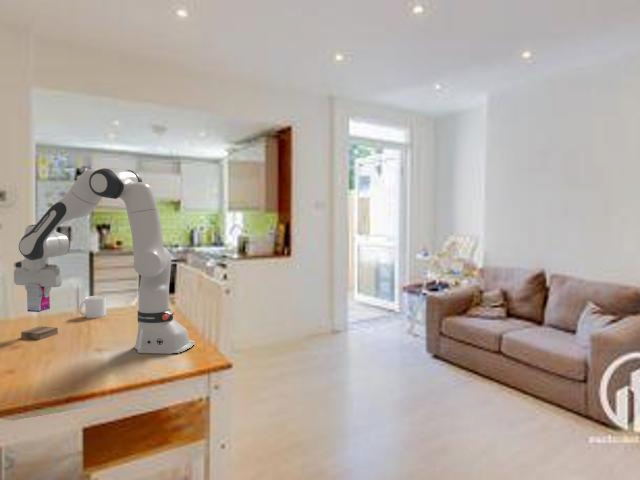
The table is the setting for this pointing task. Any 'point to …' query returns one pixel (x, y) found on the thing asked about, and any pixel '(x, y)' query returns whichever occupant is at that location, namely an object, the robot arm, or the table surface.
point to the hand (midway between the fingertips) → (38, 296)
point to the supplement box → (36, 298)
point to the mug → (94, 307)
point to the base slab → (39, 332)
